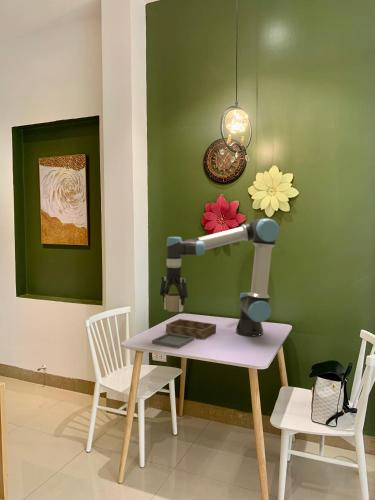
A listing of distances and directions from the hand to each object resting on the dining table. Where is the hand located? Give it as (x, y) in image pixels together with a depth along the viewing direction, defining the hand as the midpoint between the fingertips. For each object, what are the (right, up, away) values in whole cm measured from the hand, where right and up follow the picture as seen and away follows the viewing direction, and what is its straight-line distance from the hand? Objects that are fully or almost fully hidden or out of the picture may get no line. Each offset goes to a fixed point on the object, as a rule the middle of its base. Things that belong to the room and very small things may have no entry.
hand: (173, 310), depth 201 cm
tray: (0, -17, +1) cm, 17 cm away
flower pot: (0, -1, 0) cm, 1 cm away
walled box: (+9, -16, +18) cm, 25 cm away
